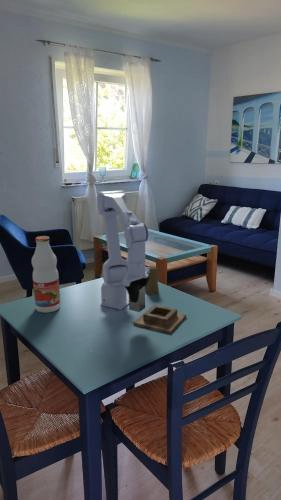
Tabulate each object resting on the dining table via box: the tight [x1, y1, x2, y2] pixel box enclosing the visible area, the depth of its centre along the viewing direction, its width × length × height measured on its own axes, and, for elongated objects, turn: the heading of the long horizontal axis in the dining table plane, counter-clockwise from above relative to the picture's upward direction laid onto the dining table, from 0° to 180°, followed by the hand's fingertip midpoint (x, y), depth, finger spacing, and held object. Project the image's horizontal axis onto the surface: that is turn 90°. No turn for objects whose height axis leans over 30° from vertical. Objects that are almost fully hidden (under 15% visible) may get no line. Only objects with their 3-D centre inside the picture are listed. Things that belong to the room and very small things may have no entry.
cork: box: [145, 265, 160, 295], centre depth 160 cm, size 6×6×11 cm
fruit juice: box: [31, 235, 61, 314], centre depth 142 cm, size 9×9×28 cm
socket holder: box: [133, 304, 187, 335], centre depth 134 cm, size 14×14×4 cm
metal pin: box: [128, 285, 146, 313], centre depth 127 cm, size 4×4×8 cm
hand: (137, 299), depth 127 cm, fingers closed on metal pin, 4 cm apart
